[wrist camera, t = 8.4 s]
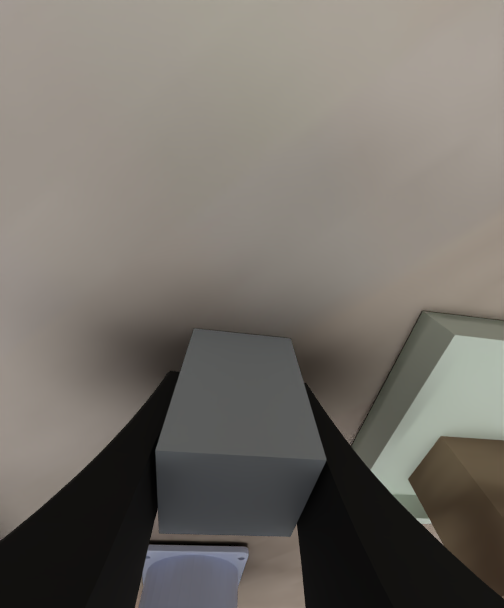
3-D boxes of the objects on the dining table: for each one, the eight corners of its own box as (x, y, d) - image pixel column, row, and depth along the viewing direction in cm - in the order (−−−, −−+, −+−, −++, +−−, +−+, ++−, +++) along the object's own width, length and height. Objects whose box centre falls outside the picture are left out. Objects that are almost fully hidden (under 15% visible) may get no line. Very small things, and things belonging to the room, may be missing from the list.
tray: (510, 496, 17) (536, 527, 16) (329, 488, 16) (338, 520, 14) (687, 343, 11) (756, 369, 10) (422, 310, 10) (454, 335, 8)
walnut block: (468, 482, 15) (562, 609, 11) (407, 479, 15) (478, 610, 10) (508, 440, 13) (641, 573, 9) (440, 435, 13) (544, 572, 8)
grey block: (272, 405, 12) (290, 536, 8) (190, 398, 12) (158, 533, 7) (290, 338, 10) (326, 460, 6) (193, 328, 10) (155, 449, 6)
